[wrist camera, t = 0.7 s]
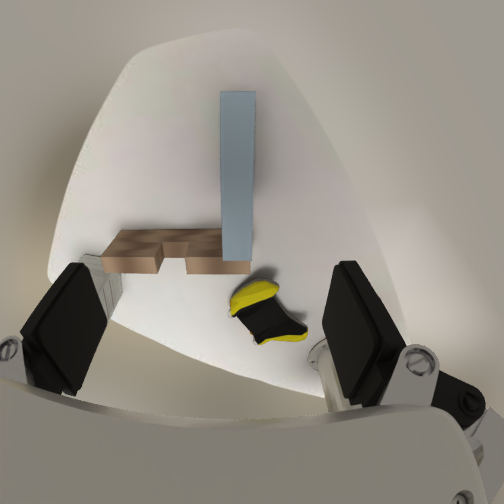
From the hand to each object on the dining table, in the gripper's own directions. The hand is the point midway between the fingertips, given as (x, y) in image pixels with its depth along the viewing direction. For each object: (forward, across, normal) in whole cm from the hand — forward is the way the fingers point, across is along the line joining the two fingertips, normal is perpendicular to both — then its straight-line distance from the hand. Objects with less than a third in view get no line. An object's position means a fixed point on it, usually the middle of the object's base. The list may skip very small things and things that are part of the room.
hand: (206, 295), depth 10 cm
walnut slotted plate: (+29, +8, +12) cm, 32 cm away
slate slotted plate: (+29, -1, 0) cm, 29 cm away
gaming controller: (+29, -6, +26) cm, 39 cm away
